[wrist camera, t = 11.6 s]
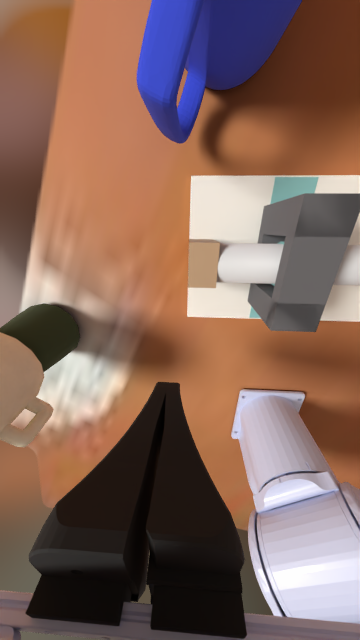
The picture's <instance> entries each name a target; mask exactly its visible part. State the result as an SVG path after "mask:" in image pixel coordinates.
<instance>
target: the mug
mask: <svg viewBox="0 0 360 640" xmlns="http://www.w3.org/2000/svg"><path fill="white" fill-rule="evenodd" d="M301 2H302V0H152V3H151V7H150V11H149V16H148V20H147V24H146V28H145V33H144V38H143V43H142V48H141V53H140V58H139V63H138V71H137V85H138V89H139V92H140V94H141V97H142V99H143V101H144V103H145V105H146V107H147V109H148V111H149V113H150V115H151V117H152V119H153V120H154V122H155V124H156V125H157V127H158V128H159V130H160V131H161V132H162V133H163V134H164V135H165V136H166V137H167V138H169V139H170V140H172V141H174V142H176V143H184V142H185V141H186V140H187V139H188V137H189V135H190V133H191V131H192V128H193V126H194V123H195V121H196V118H197V115H198V112H199V109H200V105H201V102H202V99H203V95H204V91H205V87H208V88H211V89H215V90H226V89H230V88H234V87H236V86H238V85H240V84H242V83H244V82H245V81H246V80H248V79H249V78H250V77H252V76H253V75H254V74H255V73H256V72H257V71H258V70H259V69H260V68H261V66H262V65H263V64H264V63H265V62H266V60H267V59H268V58H269V56H270V55H271V53H272V52H273V50H274V49H275V47H276V45H277V44H278V42H279V40H280V38H281V37H282V35H283V33H284V32H285V30H286V28H287V26H288V25H289V23H290V21H291V19H292V17H293V16H294V14H295V12H296V10H297V9H298V7H299V5H300V3H301ZM184 68H185V69H186V70H187V71H188V74H187V79H186V82H185V86H184V89H183V93H182V96H181V99H180V102H179V106H178V108H177V106H176V101H177V94H178V90H179V86H180V82H181V79H182V75H183V71H184Z"/></svg>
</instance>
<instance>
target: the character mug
mask: <svg viewBox="0 0 360 640" xmlns="http://www.w3.org/2000/svg"><path fill="white" fill-rule="evenodd" d="M79 339H80V335H79V330H78V325H77V324H76V322H75V321H74V319H73V318H72V316H71V315H70V314H69V313H67V312H66V311H64V310H63V309H61V308H60V307H58V306H53V305H48V304H40V305H35V306H31V307H29V308H28V309H26V310H25V311H23V312H22V313H20V314H19V315H17V316H16V317H15V318H13V319H12V320H10V321H9V322H8V323H6V324H5V325H4V326H2V327H1V328H0V440H2V441H5V442H7V443H9V444H12V445H14V446H16V447H26V446H27V445H28V444H29V443H31V442H32V441H33V440H34V438H35V437H36V436H37V434H38V433H39V432H40V430H41V429H42V428H43V426H44V425H45V423H46V422H47V421H48V419H49V418H50V417H51V415H52V413H53V410H54V409H53V408H52V407H51V405H50V404H48V403H46V402H44V401H42V400H40V399H38V398H36V396H37V395H38V393H39V390H40V387H41V384H42V382H43V379H44V373H43V372H45V371H46V370H47V369H49V368H50V367H51V366H53V365H54V364H56V363H57V362H58V361H60V360H61V359H62V358H64V357H65V356H66V355H67V354H69V353H70V352H71V351H72V350H73V349H75V348H76V347H77V345H78V342H79ZM24 409H27V410H29V411H31V412H33V413H35V414H36V415H35V417H34V418H33V419H32V420H31V421H30V423H29V424H28V425H27V426H26V427H25V429H23V430H22V429H19V428H17V427H15V426H13V425H11V423H12V422H13V421H14V420H15V419H16V417H17V416H18V415H19V414H20V413H21V412H22V411H23V410H24Z"/></svg>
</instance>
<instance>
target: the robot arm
mask: <svg viewBox="0 0 360 640" xmlns="http://www.w3.org/2000/svg"><path fill="white" fill-rule="evenodd" d="M304 398H305V395H304V393H303V392H293V391H271V390H248V389H243V390H241V391H240V393H239V398H238V403H237V408H236V413H235V418H234V423H233V428H232V433H231V435H232V438H234V439H239V442H240V446H241V451H242V455H243V459H244V464H245V468H246V472H247V477H248V481H249V484H250V487H251V490H252V492H253V494H254V495H253V499H254V503H255V507H256V509H254V510H253V511H252V512H251V514H250V518H249V528H248V540H249V548H250V554H251V559H252V563H253V567H254V570H255V574H256V577H257V580H258V582H259V585H260V588H261V590H262V593H263V595H264V597H265V599H266V601H267V603H268V605H269V606H270V608H271V610H272V612H273V614H274V616H270V615H260V614H249V613H244V610H243V602H242V595H241V593H242V583H241V577H240V571H241V568H242V566H243V564H244V553H243V549H242V545H241V542H240V538H239V535H238V532H237V530H236V527H235V524H234V521H233V519H232V516H231V513H230V512H229V510H228V508H227V506H226V505H225V503H224V501H223V500H222V498H221V496H220V494H219V492H218V491H217V489H216V487H215V485H214V483H213V481H212V479H211V478H210V475H209V473H208V471H207V469H206V467H205V465H204V463H203V461H202V459H201V457H200V455H199V452H198V450H197V448H196V445H195V443H194V440H193V438H192V435H191V432H190V430H189V427H188V424H187V421H186V417H185V414H184V410H183V406H182V402H181V396H180V384H179V383H169V382H158V383H156V386H155V388H154V390H153V392H152V394H151V396H150V397H149V399H148V401H147V403H146V404H145V406H144V407H143V409H142V411H141V412H140V414H139V415H138V417H137V418H136V419H135V421H134V422H133V424H132V425H131V427H130V428H129V429H128V431H127V432H126V433H125V434H124V436H123V437H122V438H121V439H120V441H119V442H118V443H117V444H116V445H115V446H114V447H113V449H112V450H111V451H110V452H109V453H108V454H107V455H106V456H105V458H104V459H103V460H102V461H101V462H100V463H99V464H98V465H97V466H96V467H95V468H94V469H93V470H92V471H91V472H90V473H89V474H88V475H87V476H86V477H85V478H84V479H83V480H82V481H81V482H80V483H78V484H77V485H76V486H75V487H74V488H73V489H72V490H71V491H70V492H68V493H67V494H66V495H65V496H64V497H63V498H62V499H61V500H60V501H58V502H57V504H56V505H55V507H54V508H53V510H52V512H51V513H50V515H49V517H48V519H47V520H46V522H45V524H44V525H43V527H42V529H41V531H40V534H39V535H38V537H37V540H36V542H35V543H34V545H33V548H32V550H31V552H30V553H29V561H30V563H31V564H32V565H33V566H34V567H35V568H36V569H37V570H38V571H39V572H40V573H41V574H42V576H41V578H40V581H39V583H38V585H37V587H36V590H35V592H34V593H24V592H14V591H3V590H0V640H21V634H20V631H25V632H35V633H45V634H54V635H64V636H74V637H84V638H94V639H104V640H360V489H358V488H356V487H354V486H352V485H351V484H350V483H348V482H344V483H340V482H339V481H338V480H337V478H336V477H335V475H334V473H333V471H332V470H331V468H330V466H329V465H328V463H327V461H326V459H325V458H324V456H323V454H322V453H321V451H320V449H319V448H318V446H317V444H316V442H315V441H314V439H313V437H312V436H311V434H310V432H309V430H308V429H307V427H306V425H305V424H304V422H303V420H302V419H301V417H300V415H299V410H300V408H301V405H302V403H303V400H304ZM149 550H150V556H149ZM148 556H149V557H148ZM148 558H149V564H148ZM147 568H148V572H147ZM146 578H147V580H146ZM146 584H147V585H149V588H150V593H151V604H141V603H131V601H134V602H138V599H139V598H140V597H141V595H142V594H143V592H144V591H145V587H146Z"/></svg>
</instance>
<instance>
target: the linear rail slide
mask: <svg viewBox="0 0 360 640" xmlns="http://www.w3.org/2000/svg"><path fill="white" fill-rule="evenodd" d="M305 193H360V175H319V176H191V202H190V238H189V263H188V309H187V317H218V318H252V319H261V317H260V316H259V315H258V314H257V312H256V311H255V310H254V309H253V307H252V306H251V305H250V304H249V302H248V295H249V289H250V284H251V283H265V284H272V285H273V286H274V285H275V281H276V277H277V272H278V268H279V264H280V259H281V255H282V251H283V246H284V242H279V243H277V244H257V243H258V238H259V232H260V226H261V220H262V215H263V209H264V206H266V205H270V204H273V203H276V202H279V201H282V200H285V199H289V198H292V197H295V196H298V195H301V194H305ZM320 320H321V321H355V322H360V213H359V216H358V218H357V221H356V224H355V226H354V229H353V232H352V235H351V237H350V240H349V243H348V245H347V248H346V251H345V254H344V256H343V259H342V262H341V264H340V267H339V270H338V273H337V275H336V278H335V281H334V284H333V286H332V289H331V292H330V294H329V297H328V300H327V303H326V305H325V308H324V311H323V313H322V316H321V319H320Z"/></svg>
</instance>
